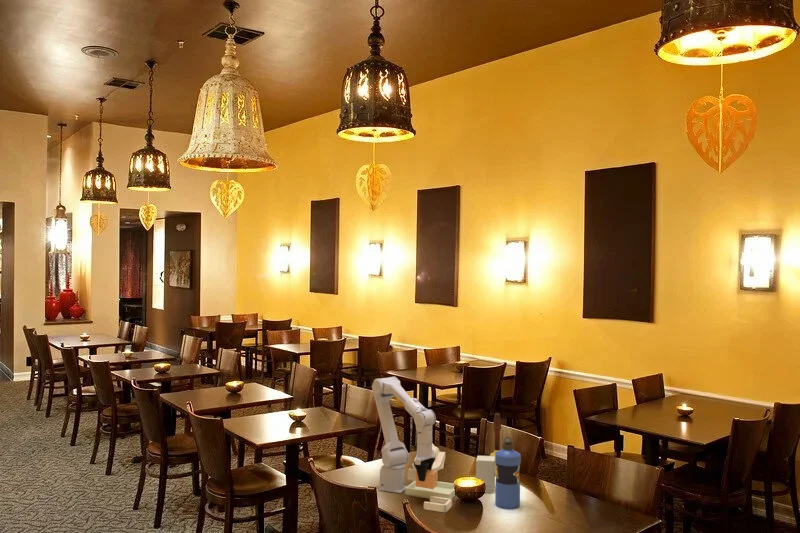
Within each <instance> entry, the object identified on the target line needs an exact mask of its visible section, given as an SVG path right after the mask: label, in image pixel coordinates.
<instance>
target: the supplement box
mask: <svg viewBox="0 0 800 533" xmlns="http://www.w3.org/2000/svg"><path fill="white" fill-rule="evenodd" d="M475 467H476V468H475V479H476V478H478V479H481V480H483V481H484V482H485V484H486V493H485V494H495V484H496V475H495V456H490V455H477V456H476V460H475Z"/></svg>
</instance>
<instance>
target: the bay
mask: <svg viewBox="0 0 800 533" xmlns="http://www.w3.org/2000/svg"><path fill="white" fill-rule="evenodd" d="M452 507H453V498H452V499H449V498H442V497H435V496H430V499H429V501H424V502H423V510H427V511H431V512H432V511H434V512H437V513H438V512H440V513H441V512H442V513H445V514H446V513H447V512H448V511H449V510H450V509H451V508H452Z"/></svg>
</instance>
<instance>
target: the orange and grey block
mask: <svg viewBox="0 0 800 533" xmlns="http://www.w3.org/2000/svg"><path fill="white" fill-rule="evenodd" d="M438 472H439V470H438V471H433V470H426V477H425V481H419V479H418V474H417V470H416V469H414V468H413V467H412V468H411V467H408V468H407V480H408V481H412V482H413V481H416V487H422V488H428V489H434V488H435V487H436V486H437V481H438Z"/></svg>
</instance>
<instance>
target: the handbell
mask: <svg viewBox="0 0 800 533" xmlns="http://www.w3.org/2000/svg"><path fill="white" fill-rule="evenodd" d="M492 425H493V430H494V431H493V433H494V451H493V452H491V453H490V454H489V456H495V453H496V452H497V451H500V450H501V449H500V444H501V443H500V434H501V429H502V419H501V414H500V413H499V412H495V413H494V417H493V424H492ZM496 475H497V470H496V462H495V476H496Z"/></svg>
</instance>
